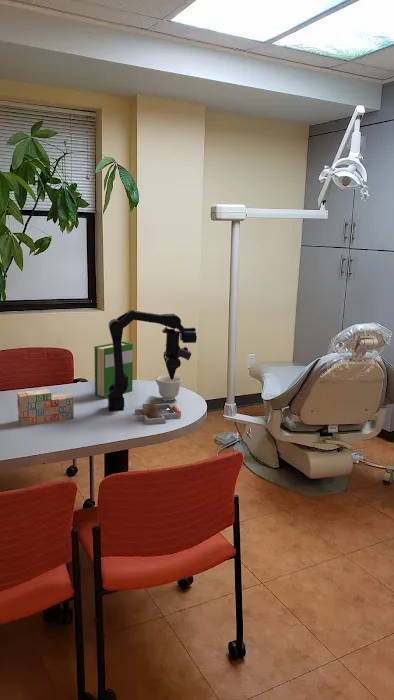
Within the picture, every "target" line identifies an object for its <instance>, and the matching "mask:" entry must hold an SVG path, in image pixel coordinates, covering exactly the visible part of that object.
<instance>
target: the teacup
mask: <svg viewBox="0 0 394 700" xmlns="http://www.w3.org/2000/svg"><path fill="white" fill-rule="evenodd" d="M182 381H183V378H181V377H180V376H176V375H174V378H173V380H171V379H170V376H169V375H161V376H160V375H157V376H156V378H155V382H156V385H158V393H159V396H161V397H162V400H163V401H165V400H173V401H175V400H176V397H177V396H178V395H179V393H180V386H181V382H182ZM174 399H175V400H174Z"/></svg>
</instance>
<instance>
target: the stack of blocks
mask: <svg viewBox="0 0 394 700" xmlns="http://www.w3.org/2000/svg"><path fill="white" fill-rule="evenodd" d="M16 394H17V396H16V397H17V399H16V401H17V417H18V422H19V424H20V426H26V425H35V424H42V423H49V422H58V421H64V420H73V419H74V418H75V417H74V416H75V415H74V414H75V413H74V412H75V411H74V410H75V409H74V407H75V406H74V397H73V396H72V394H71V393H63V394H62V393H61V394H54V395H52V392H51V391H50V390H49V389H48V388H45V389H36V390H29V391H27V390H26V391H19V392H17V393H16Z"/></svg>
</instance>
